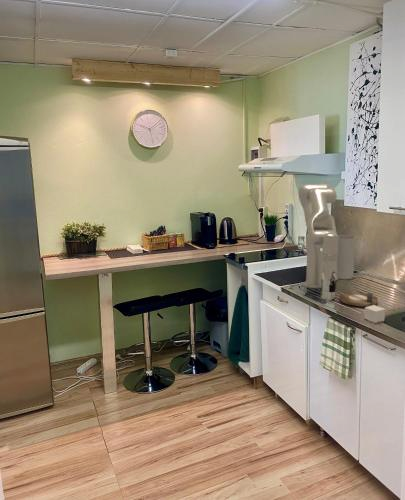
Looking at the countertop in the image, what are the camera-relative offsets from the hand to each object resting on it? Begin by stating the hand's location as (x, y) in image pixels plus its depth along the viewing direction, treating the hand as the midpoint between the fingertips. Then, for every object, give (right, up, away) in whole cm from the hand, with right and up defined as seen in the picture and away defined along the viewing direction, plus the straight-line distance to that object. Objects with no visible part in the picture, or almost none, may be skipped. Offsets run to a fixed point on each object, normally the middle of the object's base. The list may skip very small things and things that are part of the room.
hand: (328, 289), depth 218 cm
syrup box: (0, -5, +1) cm, 5 cm away
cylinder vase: (+21, +4, +39) cm, 45 cm away
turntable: (+13, -6, -6) cm, 16 cm away
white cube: (+12, -12, -30) cm, 34 cm away
